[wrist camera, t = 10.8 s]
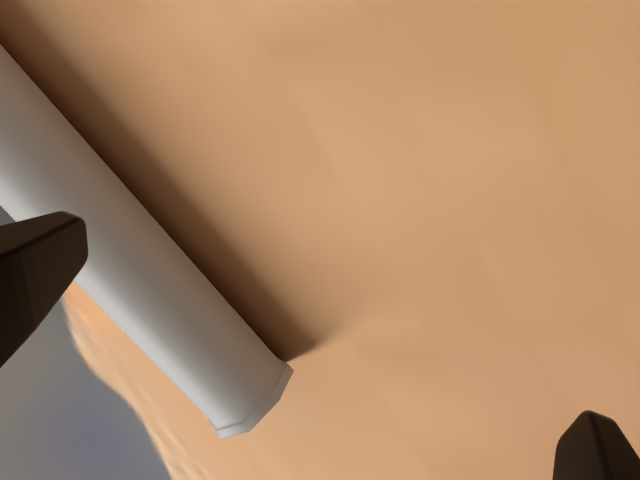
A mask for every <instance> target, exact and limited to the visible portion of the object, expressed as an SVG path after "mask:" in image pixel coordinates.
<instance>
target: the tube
mask: <svg viewBox="0 0 640 480" xmlns="http://www.w3.org/2000/svg"><path fill="white" fill-rule="evenodd" d="M0 205H1V206H2V207H3V208H4V209H5V210H6V211H7V213H9V215H10V216H11V217H12V218H13V219H14V220H15V221H16V222H18V221H22V220H26V219H30V218H34V217H38V216H42V215H46V214H50V213H53V212H58V211H65V212H68V213H71V214H74V215H76V216H79V217H81V218H83V219H84V221H85V223H86V230H87V241H88V258H87V261H86V263H85V265H84V266H83V268H82V269H81V270H80V272H79V273H78V274H77V276H76V277H75V278H74V281H75V282H76V283H77V284H78V285H79V286H80V287H81V288H82V289H83V290H84V291H85V292H86V293H87V295H88V296H89V297H90V298H91V299H92V300H93V301H94V302H95V303H96V304H97V305H98V306H99V307H100V308H101V309H102V310H103V311H104V312H105V313H106V314H107V315H108V316H109V317H110V318H111V319H112V320H113V321H114V322H115V323H116V324H117V325H118V326H119V327H120V328H121V329H122V330H123V331H124V332H125V333H126V334H127V336H128V337H129V338H130V339H131V340H132V341H133V342H134V343H135V344H136V345H137V346H138V347H139V348H140V349H141V350H142V351H143V352H144V353H145V354H146V355H147V356H148V357H149V358H150V359H151V360H152V361H153V362H154V363H155V364H156V365H157V366H158V367H159V368H160V369H161V370H162V371H163V372H164V373H165V374H166V375H167V376H168V378H169V379H170V380H171V381H172V382H173V383H174V384H175V385H176V386H177V387H178V388H179V389H180V390H181V391H182V392H183V393H184V394H185V395H186V396H187V397H188V398H189V399H190V400H191V401H192V402H193V403H194V404H195V405H196V406H197V407H198V408H199V409H200V410H201V411H202V412H203V413H204V414H205V415H206V416H207V417H208V419H207V420H208V422H209V423H210V425H211V426H212V428H213V429H214V431H215V432H216V433H217V434H218V436H219V437H220V438H221V439H223V438H227V437H231V436H234V435H238V434H242V433H245V432H249V431H250V430H251V429H252V428H253V427H254V426H255V425H256V424H257V423H258V422H259V421H260V420H261V419H262V418H263V417H264V416H265V415H266V414H267V413H268V412H269V411H270V410H271V409H272V408H273V407H274V405H275V404H276V403H277V402H278V401H279V400H280V398H281V396H282V394H283V392H284V390H285V388H286V385H287V383H288V381H289V379H290V377H291V375H292V373H293V369H292V368H291V367H290V366H289V365H288V364H287V363H285V362H284V361H282V360H281V359H279V358H278V357H276V356H275V355H274V354H273V353H272V352H271V351H270V350H269V349H268V347H267V346H266V345H265V344H264V343H263V342H262V341H261V339H260V338H259V337H258V336H257V335H256V334H255V333H254V332H253V330H252V329H251V328H250V327H249V326H248V325H247V324H246V322H245V321H244V320H243V319H242V318H241V317H240V316H239V315H238V313H237V312H236V311H235V310H234V309H233V308H232V307H231V305H230V304H229V303H228V302H227V301H226V300H225V299H224V297H223V296H222V295H221V294H220V293H219V292H218V291H217V290H216V288H215V287H214V286H213V285H212V284H211V283H210V282H209V280H208V279H207V278H206V277H205V276H204V275H203V274H202V273H201V271H200V270H199V269H198V268H197V267H196V266H195V265H194V263H193V262H192V261H191V260H190V259H189V258H188V257H187V256H186V254H185V253H184V252H183V251H182V250H181V249H180V248H179V246H178V245H177V244H176V243H175V242H174V241H173V240H172V239H171V237H170V236H169V235H168V234H167V233H166V232H165V231H164V229H163V228H162V227H161V226H160V225H159V224H158V223H157V221H156V220H155V219H154V218H153V217H152V216H151V215H150V214H149V212H148V211H147V210H146V209H145V208H144V207H143V206H142V204H141V203H140V202H139V201H138V200H137V199H136V198H135V197H134V195H133V194H132V193H131V192H130V191H129V190H128V189H127V187H126V186H125V185H124V184H123V183H122V182H121V181H120V180H119V178H118V177H117V176H116V175H115V174H114V173H113V172H112V170H111V169H110V168H109V167H108V166H107V165H106V164H105V163H104V161H103V160H102V159H101V158H100V157H99V156H98V155H97V153H96V152H95V151H94V150H93V149H92V148H91V147H90V145H89V144H88V143H87V142H86V141H85V140H84V139H83V138H82V136H81V135H80V134H79V133H78V132H77V131H76V130H75V128H74V127H73V126H72V125H71V124H70V123H69V122H68V121H67V119H66V118H65V117H64V116H63V115H62V114H61V113H60V111H59V110H58V109H57V108H56V107H55V106H54V105H53V104H52V102H51V101H50V100H49V99H48V98H47V97H46V96H45V94H44V93H43V92H42V91H41V90H40V89H39V88H38V87H37V85H36V84H35V83H34V82H33V81H32V80H31V79H30V77H29V76H28V75H27V74H26V73H25V72H24V71H23V69H22V68H21V67H20V66H19V65H18V64H17V63H16V62H15V60H14V59H13V58H12V57H11V56H10V55H9V54H8V52H7V51H6V50H5V49H4V48H3V47H2V46H1V45H0Z"/></svg>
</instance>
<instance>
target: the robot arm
mask: <svg viewBox="0 0 640 480" xmlns="http://www.w3.org/2000/svg"><path fill="white" fill-rule="evenodd" d="M87 258H88V241H87V230H86V223H85V221H84V219H83V218H81V217H79V216H76V215H74V214H71V213H68V212H65V211H58V212H53V213H50V214H46V215H42V216H38V217H34V218H30V219H26V220H22V221H18V222H14V223H10V224H6V225H2V226H0V368H1V367H2V366H3V364H5V363H6V361H7V360H8V359H9V358H10V357H11V356H12V355H13V354H14V353H15V352H16V351H17V350H18V349H19V347H20V346H21V345H22V344H23V343H24V342H25V341H26V340H27V339H28V338H29V336H30V335H31V334H32V333H33V332H34V331H35V330H36V329H37V327H38V326H39V325H40V323H41V322H42V321H43V320H44V318H45V317H46V316H47V315H48V313H49V312H50V310H51V309H52V308H53V307H54V305H55V304H56V302H57V301H58V300H59V298H60V297H61V296H62V294H63V293H64V292H65V290H66V289H67V288H68V286H69V285H70V284H71V282H72V281H73V280H74V278H75V277H76V276H77V274H78V273H79V272H80V270H81V269H82V268H83V266H84V265H85V263H86V261H87ZM552 480H640V458H639V457H638V455H637V454H636V452H635V451H634V449H633V448H632V446H631V445H630V443H629V442H628V440H627V439H626V437H625V435H624V434H623V432H622V431H621V429H620V428H619V426H618V425H617V424H616V422H615V421H614V420H612V419H611V418H609V417H606V416H604V415H601V414H598V413H596V412H593V411H589V410H586V411H584V412H582V413H581V414H580V415H579V416H578V417H577V419H576V420H575V421H574V422H573V423H572V424H571V426H570V427H569V428H568V429H567V430H566V431H565V433H564V434H563V435H562V436H561V438H560V439H559V441H558V444H557V447H556V453H555V462H554V470H553V479H552Z"/></svg>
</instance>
